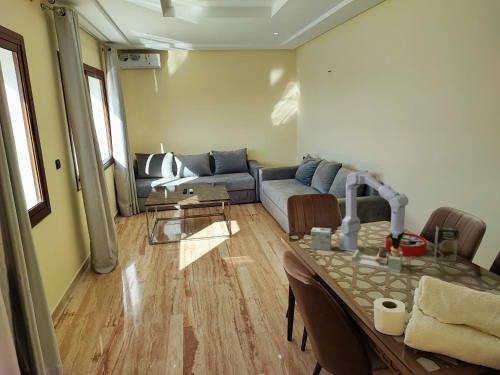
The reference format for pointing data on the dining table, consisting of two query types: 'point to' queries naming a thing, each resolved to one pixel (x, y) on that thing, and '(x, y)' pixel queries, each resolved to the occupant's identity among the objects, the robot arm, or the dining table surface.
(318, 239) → the light bulb box
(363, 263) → the rail
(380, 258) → the carriage
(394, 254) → the button
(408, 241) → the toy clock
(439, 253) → the coffee box
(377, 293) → the dining table surface
